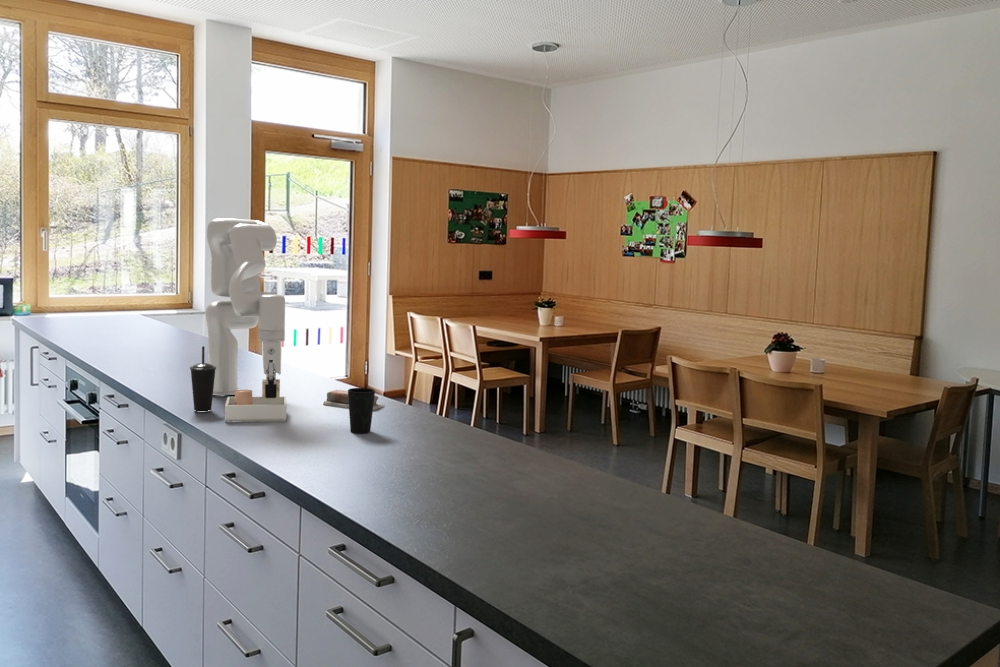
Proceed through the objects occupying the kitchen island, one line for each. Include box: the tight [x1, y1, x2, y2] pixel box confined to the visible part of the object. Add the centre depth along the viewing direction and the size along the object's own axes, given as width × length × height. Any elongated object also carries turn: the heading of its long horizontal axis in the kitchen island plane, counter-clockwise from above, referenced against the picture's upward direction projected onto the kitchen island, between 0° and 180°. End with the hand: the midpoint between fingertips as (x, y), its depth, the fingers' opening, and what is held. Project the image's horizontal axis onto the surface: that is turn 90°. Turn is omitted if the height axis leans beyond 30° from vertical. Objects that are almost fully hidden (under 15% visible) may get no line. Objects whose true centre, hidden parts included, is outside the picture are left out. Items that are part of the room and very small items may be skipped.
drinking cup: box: [189, 345, 216, 411], centre depth 249 cm, size 8×8×20 cm
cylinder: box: [234, 389, 253, 405], centre depth 244 cm, size 5×5×7 cm
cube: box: [261, 378, 281, 399], centre depth 245 cm, size 5×5×5 cm
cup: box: [347, 387, 376, 435], centre depth 233 cm, size 8×8×12 cm
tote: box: [224, 396, 287, 423], centre depth 245 cm, size 13×17×5 cm
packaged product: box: [322, 389, 386, 411], centre depth 269 cm, size 18×5×10 cm
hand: (270, 395), depth 245 cm, fingers closed on cube, 5 cm apart
